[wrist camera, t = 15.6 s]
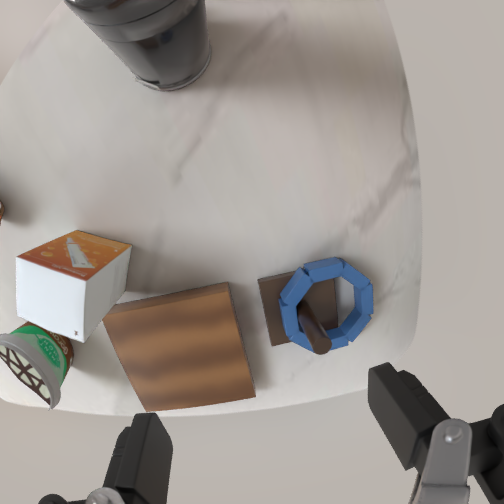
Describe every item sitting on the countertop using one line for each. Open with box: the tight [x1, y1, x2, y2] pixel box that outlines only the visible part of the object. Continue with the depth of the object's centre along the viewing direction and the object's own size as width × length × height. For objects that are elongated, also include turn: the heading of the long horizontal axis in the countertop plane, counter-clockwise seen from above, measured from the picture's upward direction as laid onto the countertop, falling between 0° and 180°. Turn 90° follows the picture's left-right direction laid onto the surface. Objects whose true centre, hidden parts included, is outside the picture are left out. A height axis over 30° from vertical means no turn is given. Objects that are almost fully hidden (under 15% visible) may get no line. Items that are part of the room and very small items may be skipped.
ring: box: [279, 257, 373, 353], centre depth 35 cm, size 11×11×2 cm
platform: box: [102, 282, 256, 412], centre depth 36 cm, size 16×16×3 cm
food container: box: [0, 321, 74, 410], centre depth 31 cm, size 12×6×10 cm, turn 43°
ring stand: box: [258, 269, 338, 355], centre depth 33 cm, size 9×9×10 cm
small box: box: [16, 230, 132, 343], centre depth 28 cm, size 8×6×13 cm
